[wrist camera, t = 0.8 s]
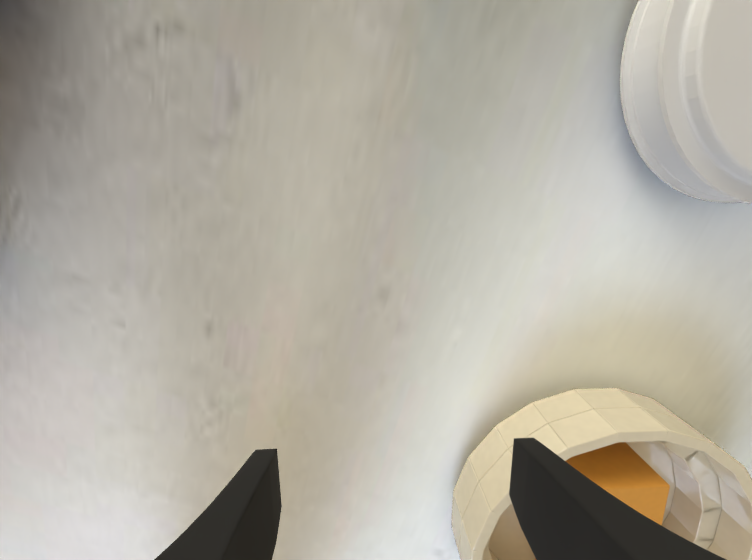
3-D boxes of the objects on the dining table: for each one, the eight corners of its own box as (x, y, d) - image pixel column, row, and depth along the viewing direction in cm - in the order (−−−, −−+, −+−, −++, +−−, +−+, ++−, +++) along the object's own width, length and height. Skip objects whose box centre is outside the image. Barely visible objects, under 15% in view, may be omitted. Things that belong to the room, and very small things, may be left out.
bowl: (668, 584, 27) (728, 663, 23) (443, 597, 26) (462, 680, 22) (716, 379, 23) (799, 426, 19) (455, 386, 22) (480, 436, 18)
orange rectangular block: (602, 557, 25) (642, 617, 22) (534, 560, 25) (563, 622, 22) (623, 439, 23) (671, 485, 20) (549, 441, 23) (584, 489, 20)
